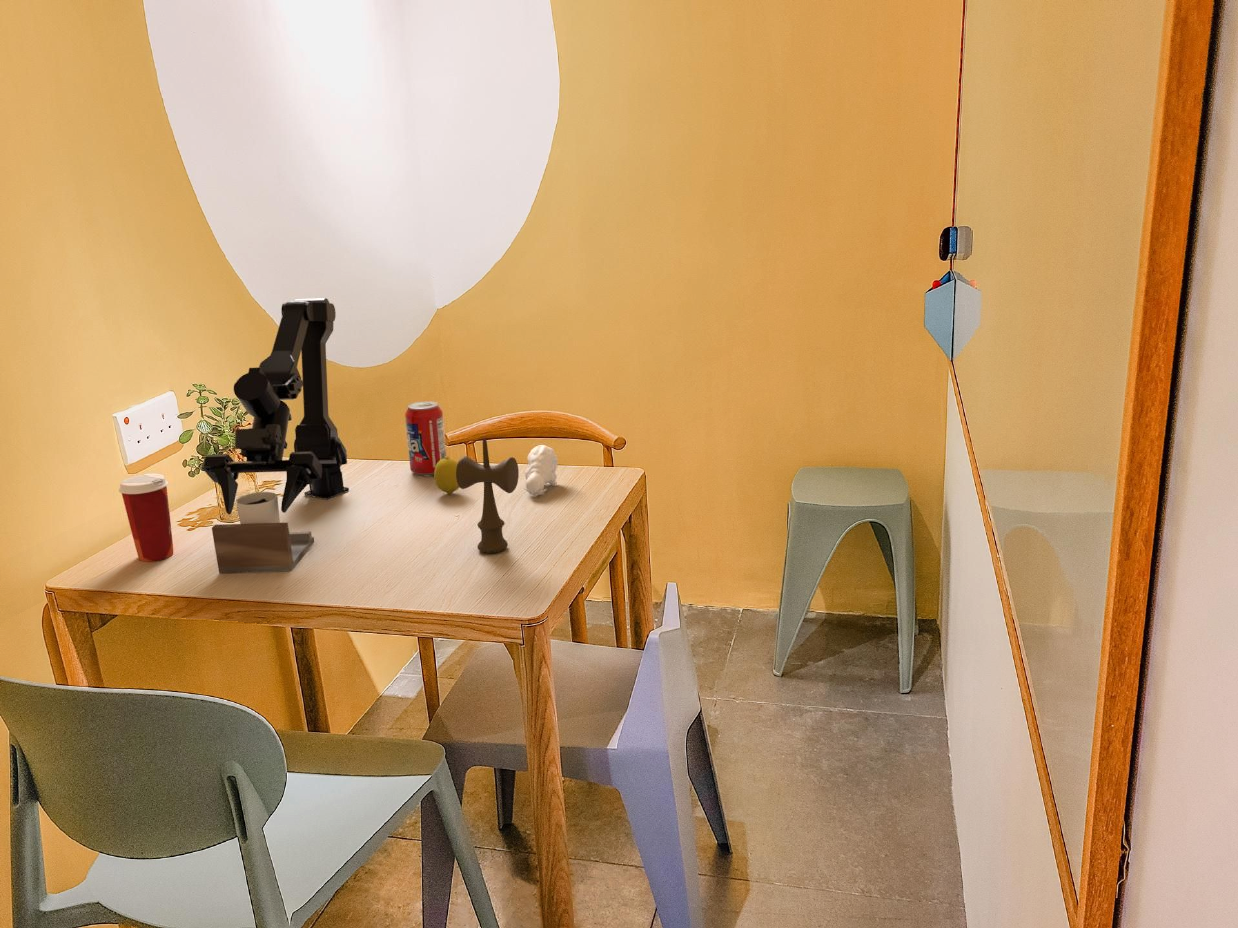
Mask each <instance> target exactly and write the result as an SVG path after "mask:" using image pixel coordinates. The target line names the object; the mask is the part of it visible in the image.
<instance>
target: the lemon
mask: <svg viewBox="0 0 1238 928" xmlns="http://www.w3.org/2000/svg"><path fill="white" fill-rule="evenodd" d="M458 462H459V461H457V460H456V459H454V458H452V457H449V456H447V455H446V457H445V458H443V459H441V460H440V461H439V462H438V463H437V465H436V467H435V471H434V475H433V477H434V482H435V485H436V486H437V488H438V490H440V491H441V492H444V493H446V494H447V495H449V496H450V495H453V493H454V492H455V491H457V490H458V489H459V486H458V484H457V480H456V468H457V464H458Z"/></svg>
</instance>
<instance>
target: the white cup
mask: <svg viewBox="0 0 1238 928" xmlns="http://www.w3.org/2000/svg"><path fill="white" fill-rule="evenodd" d="M278 497H279V496H278V494H277V493H275V492H270V491H259V492H258V491H257V492H253V493H248V494H245V495H242V496H239V497H238V498H237V499H235V503H236V504H235V505H236V510H237V515H238V519H239V524H255V523H281V520H280V510H279V508H280V507H279V498H278Z"/></svg>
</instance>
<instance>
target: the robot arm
mask: <svg viewBox="0 0 1238 928" xmlns="http://www.w3.org/2000/svg"><path fill="white" fill-rule="evenodd" d="M280 309H281V318H280V323H279V326H278V328H277V332H276V335H275V339H274V344H273V346H272V349H271V353H270V355H269V356H267V357H266V358H265V359H264V360H261V362H260V363H259V365H258V367H249V368H248V372H247V373H244V374H243V375H242V376H240V377H239V378H238V379H237V380H236V381H235V383H234V384H233V393H234V395H235V397H237V399H238V400H239V402H240V404H241V405H242V406H243V408H244V409H245V411H246V412H247V413H248V415H250V416H252V417H253V421H252V425H251V426H252V427H250V428H238V429H235V431H234V449H235V450H240V455H241V457H242V458H246V461H235V460H234V459H233V458H232V457H231V455H230V454H228V453H223V454H222V453H221V454H220V453H219V454H215V453H214V454H208V455H206V456H205V457H204V458H203V461H202V467H201V469H202V470H203V472H204V473H206V475H207V476H208V477H209V478H210V479H211V480H212V482H214V483H216V484H217V485H219V486H220V489H221V492H222V494H221V495H222V498H223V504H224V508H225V512H226V514H227V515H232V512H233V509H234V506H235V503H236V497H237V492H238V488H239V484H238V482H237V481H236V480H238V479H239V474H244V473H245V474H246V473H247V474H248V473H253V474H254V473H277V472H280V473H281V472H282V473H283V472H286V481H285V486H284V490H283V495H282V499H281V507H280V509H281V513H283V514H284V513H286V512H287V511H288V509H289V508H290V507H291V505H292V504H293V503H294V501H295V500H296V499H297V497H298V496H299V495H300V494H301V493H302V491H304V490H305V488H306V487H307V486H308V485H309V490H307V491H305V492H303V494H304V495H305V496H308V497H313V498H319V499H324V500H327V499H330V498H334V497H335V496H338V495H340V494H343V493H346V492H348V491H349V490H350V489H349V487H347V486H344V478H343V471H342V470H341V467H342V466H343V465H347V464H348V454H347V449H346V447H345V445H344V444H343V441H342V440H341V439H340V437H339V433H338V428H337V426H336V425H335V424H334V422H333V421H332V419H331V418H330V415H329V400H328V399H329V398H328V397H329V396H328V394H329V393H328V374H327V372H328V371H327V368H328V367H327V350H326V349H327V347H326V344H327V342H328V340H329V339H330V337H331V335H332V334H333V332H334V322H335V320H336V316H337V314H336V307H335V305H334V303H332V302H331V303H330V301H329V299H328V298H326V297H325V298H324V297H323V298H322V297H321V298H317V297H316V298H295V299H294V300H293V301H292V300H291V301H286V302H283V303H282V305H281V308H280ZM300 356H301V374H302V375H301V374H300V372H299V369H298V363H299V360H300ZM301 392H302V397H303V401H302V402H303V417H302V420H301V421H300V423H299V424H296V426H295V428H294V432H295V439H294V442H293V451H291V452H290V453H289V457H288V459H284V458H283V457H284V453H285V452H284V450H285V449H286V450H287V449H288V442H287V441H286V438H287V431H288V426H289V421H292V414H291V409H290V407H289V406H288V404H287V403H286V402H285V400H286V401H288V400H289V401H292V400H296V399H297V398H298V396H299V394H301Z"/></svg>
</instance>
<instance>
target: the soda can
mask: <svg viewBox="0 0 1238 928" xmlns="http://www.w3.org/2000/svg"><path fill="white" fill-rule="evenodd" d="M404 420H405V428H406V429H405V430H406V431H405V432H406V439H407V449H408V458H409V459H408V461H409V469H410V471H411V473H413V474H415V475H417V476H420V477H431V476H433V477H434V471H435V467H436V465H437V463H438V462H439V461H440V460H441V459H443V458H445V457H446V456H447V448H446V447H447V446H446V437H445V436H446V435H445V426H444V415H443V410H442V409H441V407H440V406H439V402H436V401H430V400H429V401H417V402H412V403H409V404H408V405H407V409H406V411H405V413H404Z"/></svg>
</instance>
